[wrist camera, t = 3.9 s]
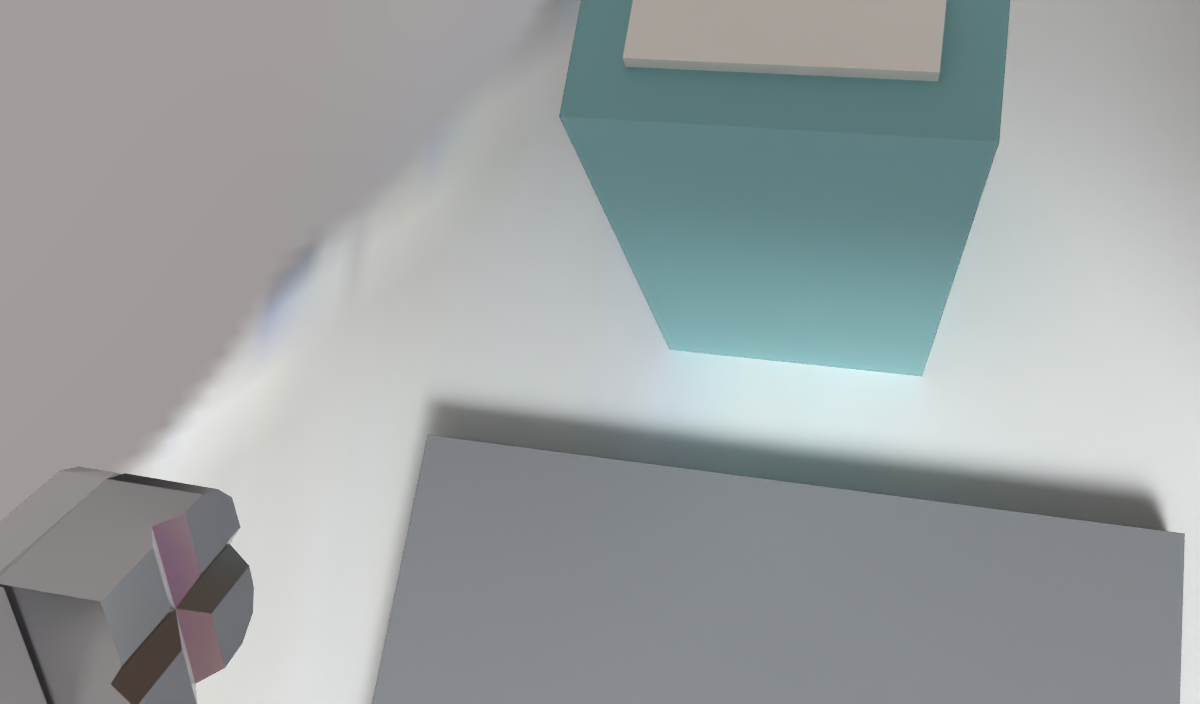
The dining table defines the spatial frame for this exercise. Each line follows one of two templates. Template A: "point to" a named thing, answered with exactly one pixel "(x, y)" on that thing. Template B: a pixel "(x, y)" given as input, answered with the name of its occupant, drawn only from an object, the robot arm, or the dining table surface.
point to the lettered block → (791, 165)
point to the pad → (760, 593)
